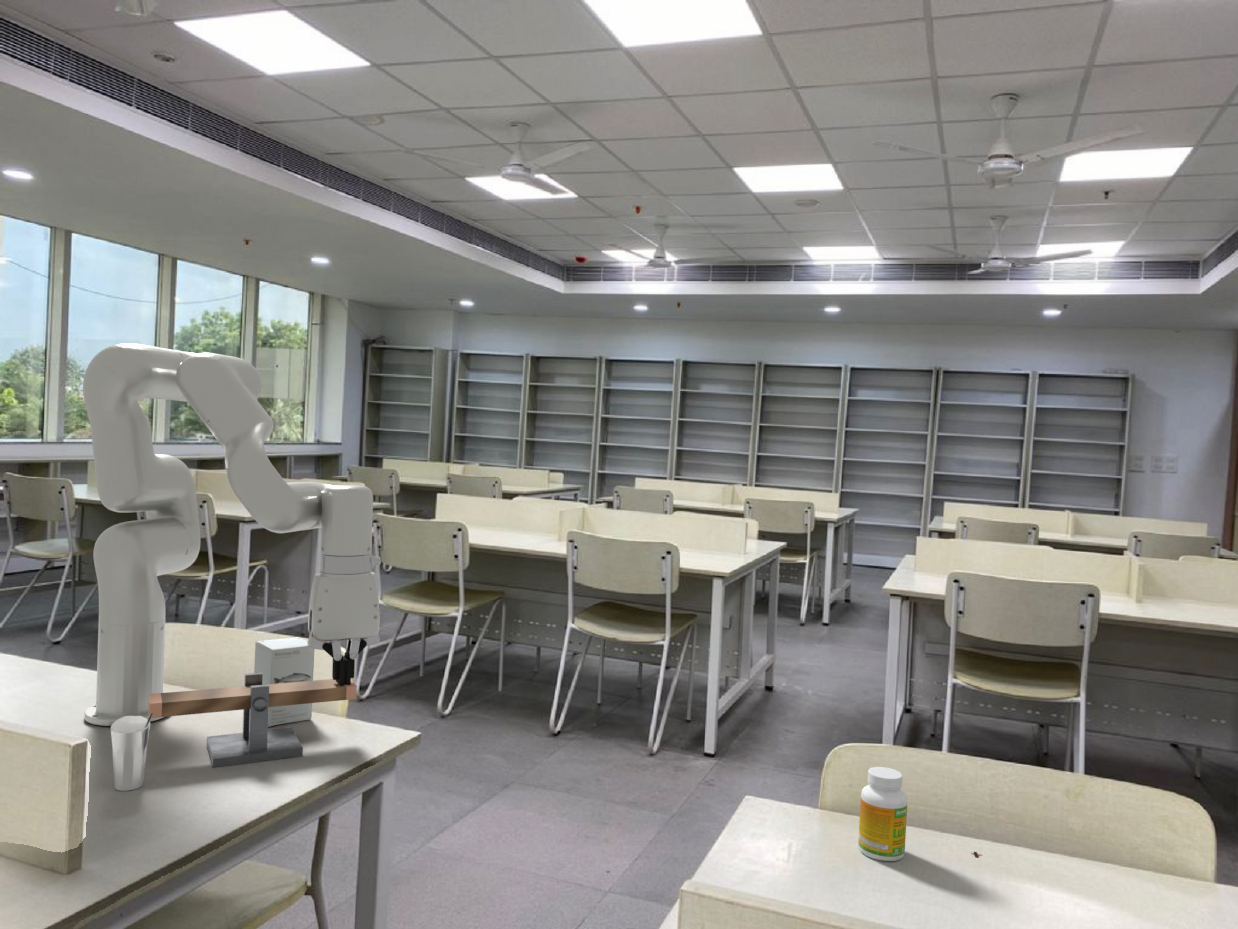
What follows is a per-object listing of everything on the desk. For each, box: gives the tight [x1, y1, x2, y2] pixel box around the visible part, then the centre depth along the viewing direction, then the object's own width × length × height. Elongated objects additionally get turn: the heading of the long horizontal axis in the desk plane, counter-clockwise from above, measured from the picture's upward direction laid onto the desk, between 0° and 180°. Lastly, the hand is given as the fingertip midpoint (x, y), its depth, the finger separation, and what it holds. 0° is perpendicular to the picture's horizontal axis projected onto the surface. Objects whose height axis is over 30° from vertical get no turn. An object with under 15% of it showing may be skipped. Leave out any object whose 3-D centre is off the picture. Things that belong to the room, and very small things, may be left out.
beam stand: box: [206, 672, 304, 768], centre depth 131 cm, size 12×10×10 cm
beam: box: [148, 678, 358, 718], centre depth 131 cm, size 28×5×2 cm, turn 119°
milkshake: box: [110, 713, 153, 792], centre depth 116 cm, size 5×5×10 cm
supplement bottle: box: [857, 766, 908, 862], centre depth 107 cm, size 5×5×10 cm
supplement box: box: [253, 636, 316, 728], centre depth 146 cm, size 7×7×13 cm
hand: (343, 683), depth 137 cm, fingers closed
